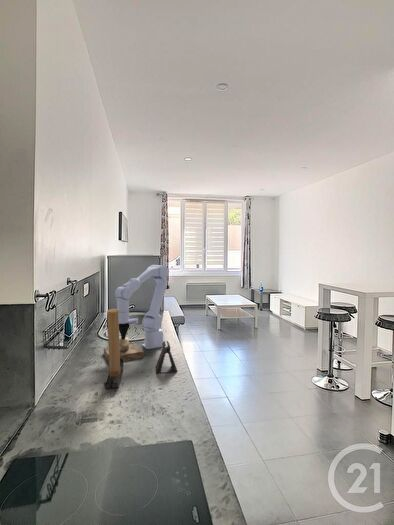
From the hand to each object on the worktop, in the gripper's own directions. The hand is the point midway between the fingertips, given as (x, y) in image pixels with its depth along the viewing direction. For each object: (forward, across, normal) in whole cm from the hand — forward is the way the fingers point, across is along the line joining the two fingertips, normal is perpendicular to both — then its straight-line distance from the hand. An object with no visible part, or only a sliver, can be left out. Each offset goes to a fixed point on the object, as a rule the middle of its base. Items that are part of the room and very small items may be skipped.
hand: (123, 338), depth 148 cm
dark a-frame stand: (+8, -12, +26) cm, 30 cm away
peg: (+8, 0, 0) cm, 8 cm away
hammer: (+9, +10, +26) cm, 29 cm away
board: (+8, 0, 0) cm, 8 cm away
